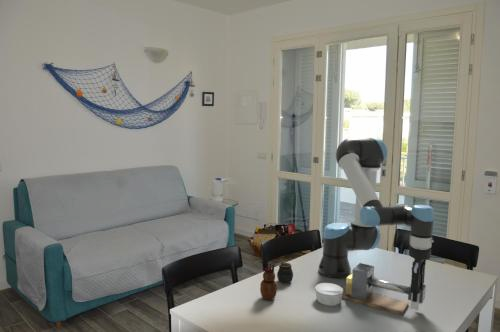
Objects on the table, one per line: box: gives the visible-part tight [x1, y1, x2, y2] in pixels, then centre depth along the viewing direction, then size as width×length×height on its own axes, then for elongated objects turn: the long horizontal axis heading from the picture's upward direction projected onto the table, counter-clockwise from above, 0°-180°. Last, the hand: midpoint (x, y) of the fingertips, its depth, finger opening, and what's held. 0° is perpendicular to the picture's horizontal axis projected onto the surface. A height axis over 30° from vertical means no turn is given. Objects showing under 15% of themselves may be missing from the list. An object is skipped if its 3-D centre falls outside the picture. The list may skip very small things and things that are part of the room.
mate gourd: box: [276, 257, 294, 285], centre depth 176 cm, size 7×8×10 cm
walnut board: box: [341, 285, 409, 316], centre depth 159 cm, size 26×10×1 cm, turn 56°
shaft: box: [368, 277, 427, 304], centre depth 154 cm, size 25×5×5 cm, turn 56°
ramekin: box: [314, 282, 343, 307], centre depth 158 cm, size 11×11×5 cm
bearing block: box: [351, 262, 375, 301], centre depth 160 cm, size 6×9×12 cm, turn 146°
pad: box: [342, 288, 351, 297], centre depth 164 cm, size 5×9×1 cm, turn 146°
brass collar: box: [345, 272, 352, 296], centre depth 163 cm, size 2×7×7 cm, turn 146°
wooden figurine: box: [259, 262, 278, 301], centre depth 159 cm, size 7×6×15 cm
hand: (416, 305), depth 149 cm, fingers closed on shaft, 5 cm apart
